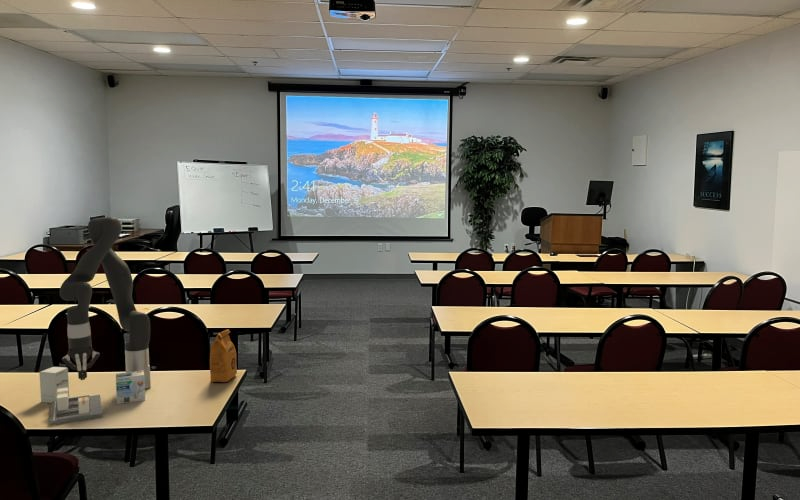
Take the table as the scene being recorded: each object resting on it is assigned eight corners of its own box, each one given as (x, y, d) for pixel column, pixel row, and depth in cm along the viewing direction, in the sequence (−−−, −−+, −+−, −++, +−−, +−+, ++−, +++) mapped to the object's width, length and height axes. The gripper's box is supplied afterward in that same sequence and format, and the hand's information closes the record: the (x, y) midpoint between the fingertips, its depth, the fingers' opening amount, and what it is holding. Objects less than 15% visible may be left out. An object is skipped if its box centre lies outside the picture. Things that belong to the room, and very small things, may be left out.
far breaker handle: (68, 399, 235) (67, 387, 235) (68, 402, 232) (67, 390, 231) (58, 400, 234) (57, 388, 233) (58, 404, 230) (57, 391, 230)
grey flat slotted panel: (100, 398, 242) (99, 393, 242) (102, 416, 223) (102, 411, 223) (52, 405, 234) (51, 400, 234) (50, 425, 215) (49, 420, 215)
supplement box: (56, 403, 236) (54, 373, 234) (40, 402, 237) (38, 371, 236) (70, 397, 243) (68, 367, 242) (54, 395, 245) (52, 366, 243)
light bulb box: (116, 404, 236) (115, 378, 234) (116, 399, 241) (115, 373, 240) (146, 400, 240) (144, 374, 239) (144, 394, 246) (143, 369, 245)
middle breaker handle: (68, 405, 229) (67, 393, 228) (68, 409, 225) (67, 396, 225) (57, 407, 227) (57, 394, 226) (57, 410, 224) (56, 398, 223)
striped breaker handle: (89, 409, 226) (88, 396, 225) (89, 412, 222) (88, 399, 222) (78, 410, 224) (78, 397, 223) (79, 414, 220) (78, 401, 220)
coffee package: (240, 375, 272) (239, 328, 269) (227, 384, 260) (226, 335, 257) (220, 373, 274) (219, 327, 271) (206, 382, 262) (205, 334, 259)
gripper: (99, 330, 226) (102, 373, 228) (59, 334, 220) (63, 379, 222) (99, 334, 220) (102, 379, 222) (58, 339, 213) (62, 385, 216)
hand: (82, 379), depth 222 cm, fingers closed
